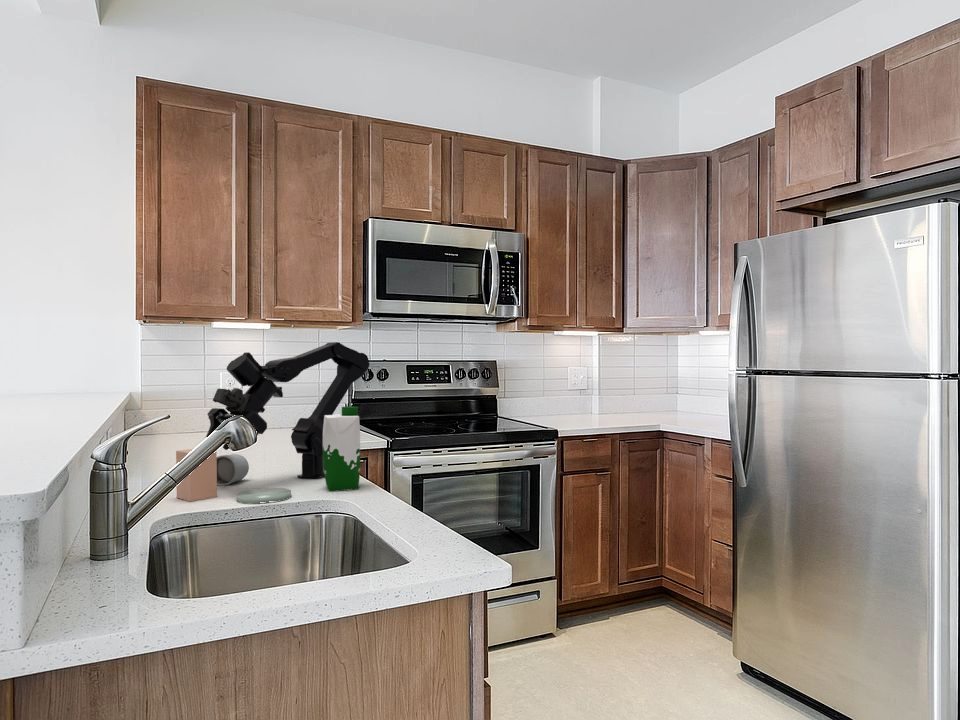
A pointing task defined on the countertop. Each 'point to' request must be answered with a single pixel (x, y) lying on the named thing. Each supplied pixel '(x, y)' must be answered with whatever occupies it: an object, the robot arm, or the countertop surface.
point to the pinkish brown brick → (198, 479)
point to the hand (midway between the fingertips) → (214, 447)
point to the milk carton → (342, 449)
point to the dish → (263, 495)
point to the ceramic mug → (231, 468)
